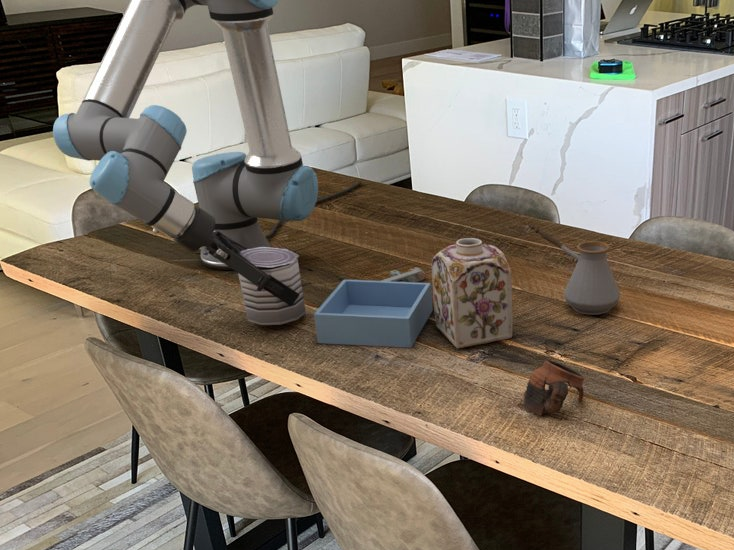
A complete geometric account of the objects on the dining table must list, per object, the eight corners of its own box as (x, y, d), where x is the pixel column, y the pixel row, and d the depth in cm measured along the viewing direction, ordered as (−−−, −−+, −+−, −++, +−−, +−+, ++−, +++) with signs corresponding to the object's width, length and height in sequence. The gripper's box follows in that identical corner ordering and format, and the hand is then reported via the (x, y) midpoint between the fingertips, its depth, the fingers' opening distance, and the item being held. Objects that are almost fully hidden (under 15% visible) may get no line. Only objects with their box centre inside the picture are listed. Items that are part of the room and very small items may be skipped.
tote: (347, 306, 176) (343, 279, 173) (432, 310, 174) (430, 283, 172) (317, 343, 161) (313, 314, 158) (411, 347, 159) (408, 318, 156)
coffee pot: (629, 304, 178) (633, 232, 171) (602, 323, 170) (605, 249, 162) (541, 283, 188) (541, 215, 180) (512, 301, 179) (510, 230, 171)
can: (251, 302, 173) (240, 244, 166) (310, 301, 174) (301, 243, 168) (239, 326, 163) (227, 265, 157) (301, 324, 164) (292, 264, 158)
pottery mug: (513, 397, 144) (533, 352, 143) (564, 417, 147) (584, 373, 146) (525, 415, 133) (547, 366, 132) (580, 436, 136) (602, 389, 135)
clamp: (407, 263, 191) (436, 274, 185) (408, 272, 192) (437, 284, 187) (349, 280, 182) (378, 293, 176) (351, 290, 183) (379, 303, 177)
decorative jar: (455, 350, 158) (449, 255, 149) (433, 327, 167) (427, 236, 158) (515, 338, 163) (513, 245, 154) (491, 316, 172) (487, 227, 163)
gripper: (161, 221, 161) (260, 284, 176) (182, 260, 144) (291, 327, 159) (185, 189, 161) (282, 255, 176) (209, 224, 144) (315, 294, 158)
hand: (286, 289), depth 167 cm, fingers closed on can, 11 cm apart
